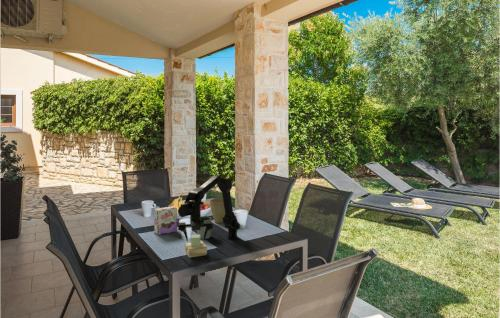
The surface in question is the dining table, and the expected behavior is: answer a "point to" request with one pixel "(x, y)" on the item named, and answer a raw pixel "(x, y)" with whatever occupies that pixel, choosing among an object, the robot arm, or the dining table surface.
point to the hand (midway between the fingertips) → (195, 240)
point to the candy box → (165, 220)
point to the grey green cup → (203, 228)
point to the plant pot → (217, 209)
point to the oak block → (196, 249)
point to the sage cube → (195, 240)
